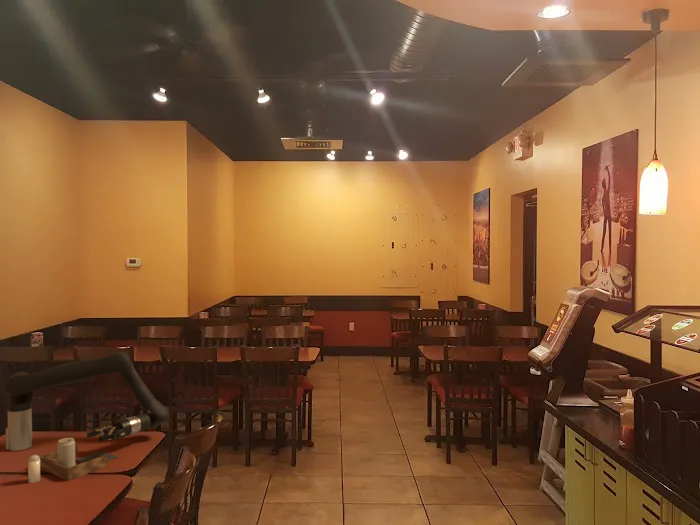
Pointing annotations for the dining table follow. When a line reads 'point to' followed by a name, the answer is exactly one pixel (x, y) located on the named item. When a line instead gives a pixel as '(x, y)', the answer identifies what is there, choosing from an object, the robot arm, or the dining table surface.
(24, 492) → the dining table surface
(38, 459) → the salt shaker
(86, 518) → the dining table surface
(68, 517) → the dining table surface
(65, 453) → the beverage can
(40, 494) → the dining table surface
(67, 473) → the condiment rack
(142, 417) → the robot arm
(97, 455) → the coaster
